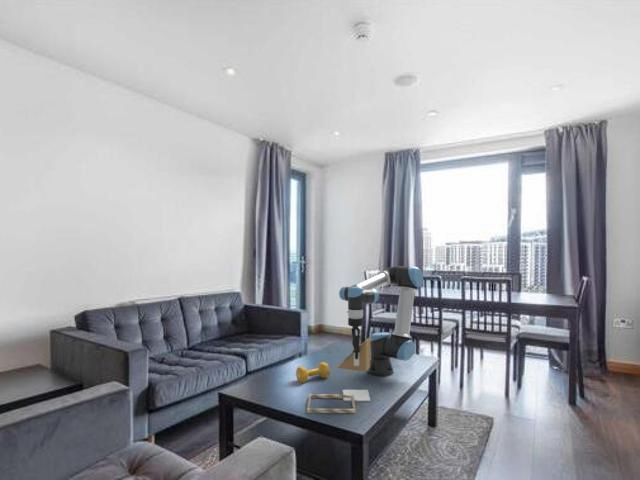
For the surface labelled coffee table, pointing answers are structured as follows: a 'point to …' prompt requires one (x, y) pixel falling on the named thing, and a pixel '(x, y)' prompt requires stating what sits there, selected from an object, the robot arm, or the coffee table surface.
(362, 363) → the sandwich container
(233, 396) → the coffee table surface
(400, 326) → the robot arm
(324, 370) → the dumbbell
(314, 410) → the birch frame
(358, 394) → the grey pad
